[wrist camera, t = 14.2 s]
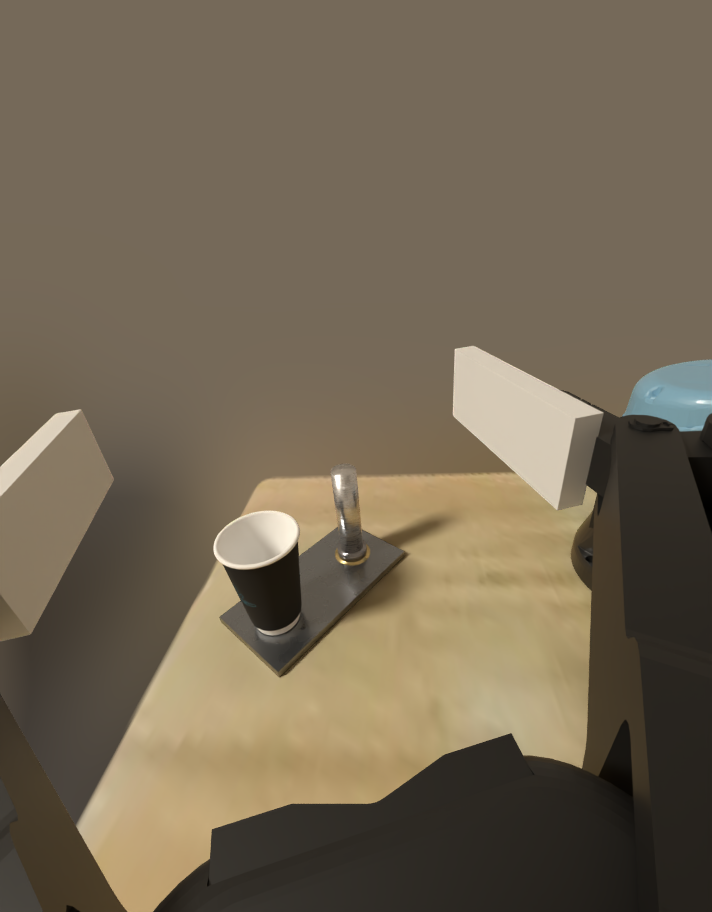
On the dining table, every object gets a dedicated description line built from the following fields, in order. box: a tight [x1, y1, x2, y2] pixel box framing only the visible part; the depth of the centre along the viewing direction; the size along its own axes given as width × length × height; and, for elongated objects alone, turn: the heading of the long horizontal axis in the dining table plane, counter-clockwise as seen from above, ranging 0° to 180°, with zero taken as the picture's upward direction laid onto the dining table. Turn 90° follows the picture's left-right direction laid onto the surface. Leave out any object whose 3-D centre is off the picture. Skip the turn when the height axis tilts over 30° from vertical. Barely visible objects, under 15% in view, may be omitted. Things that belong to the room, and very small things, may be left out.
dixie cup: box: [214, 511, 302, 635], centre depth 41 cm, size 8×8×11 cm
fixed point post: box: [331, 464, 367, 562], centre depth 48 cm, size 4×4×12 cm
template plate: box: [220, 527, 404, 677], centre depth 47 cm, size 20×10×1 cm, turn 139°
